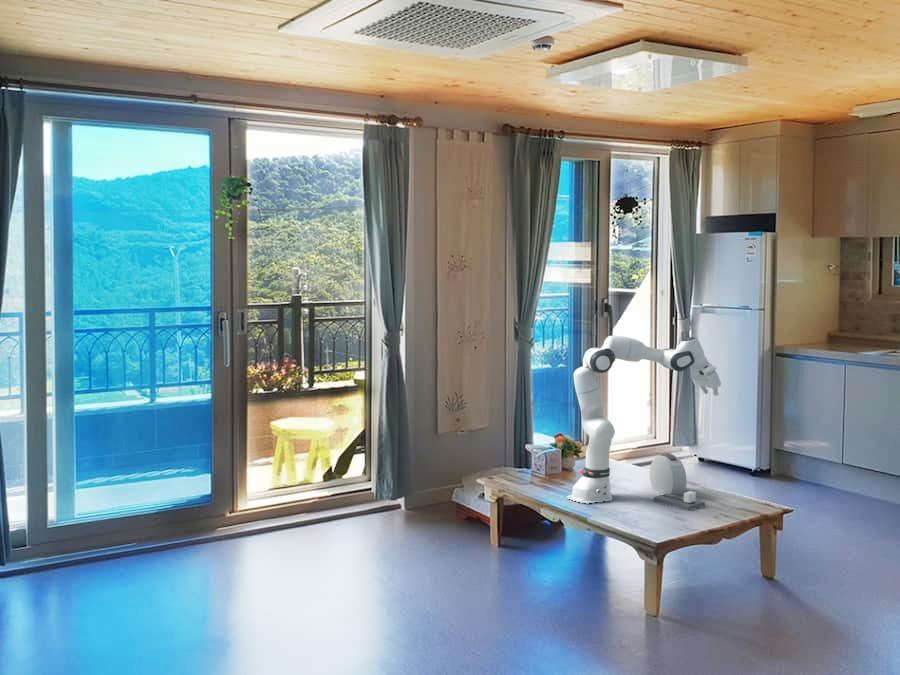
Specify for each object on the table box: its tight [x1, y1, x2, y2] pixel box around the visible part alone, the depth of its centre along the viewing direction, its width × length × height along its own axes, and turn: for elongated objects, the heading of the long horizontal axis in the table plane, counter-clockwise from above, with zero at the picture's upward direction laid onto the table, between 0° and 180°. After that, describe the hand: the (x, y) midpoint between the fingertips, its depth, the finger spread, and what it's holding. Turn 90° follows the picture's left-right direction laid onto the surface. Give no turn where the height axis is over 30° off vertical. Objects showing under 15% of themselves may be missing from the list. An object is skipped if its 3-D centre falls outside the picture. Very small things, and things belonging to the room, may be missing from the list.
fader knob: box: [683, 490, 697, 503], centre depth 401 cm, size 5×3×5 cm, turn 128°
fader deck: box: [652, 493, 706, 511], centre depth 406 cm, size 12×20×2 cm, turn 38°
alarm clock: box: [649, 453, 687, 496], centre depth 424 cm, size 21×8×20 cm, turn 18°
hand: (711, 394), depth 418 cm, fingers open, 8 cm apart
